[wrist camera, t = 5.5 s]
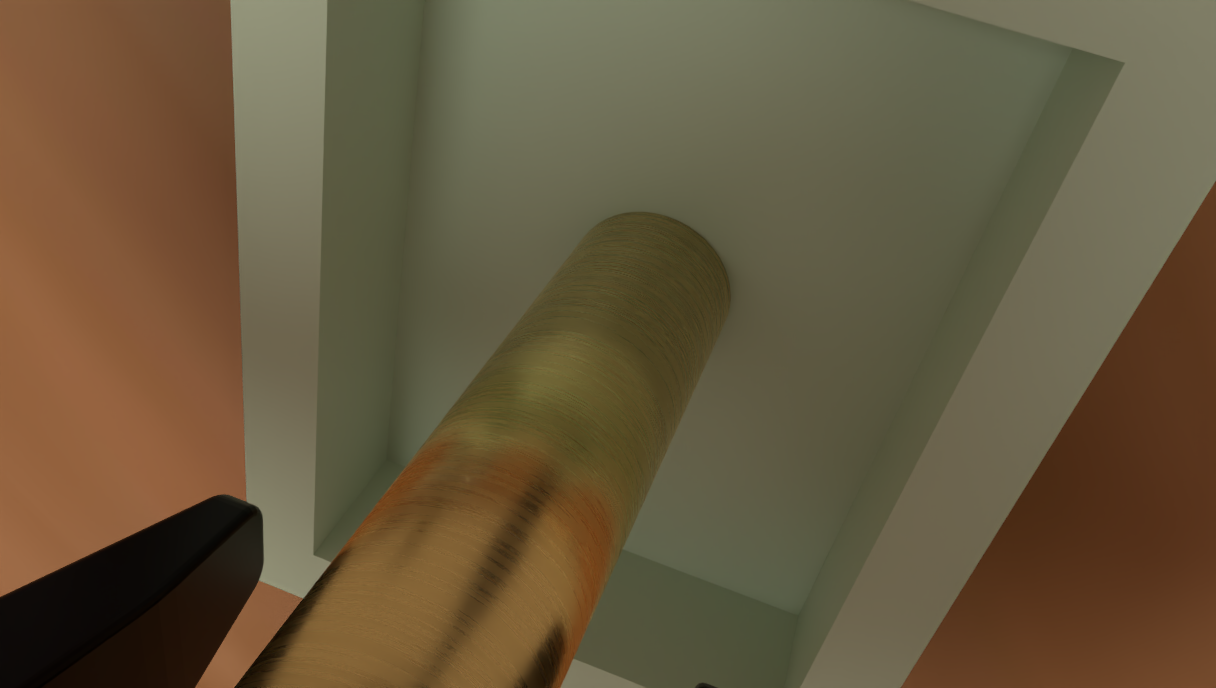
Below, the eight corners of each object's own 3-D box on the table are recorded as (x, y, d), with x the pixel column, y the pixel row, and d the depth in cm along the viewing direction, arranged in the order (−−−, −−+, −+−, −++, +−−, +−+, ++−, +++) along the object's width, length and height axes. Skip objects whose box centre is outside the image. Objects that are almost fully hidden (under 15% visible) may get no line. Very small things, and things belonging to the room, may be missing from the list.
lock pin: (796, 225, 13) (481, 1017, 5) (730, 415, 15) (427, 1197, 7) (560, 145, 14) (-44, 764, 6) (525, 340, 16) (39, 995, 8)
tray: (1267, -102, 10) (1351, -37, 8) (846, 661, 18) (825, 809, 16) (375, -337, 12) (219, -340, 9) (339, 466, 20) (248, 576, 17)
